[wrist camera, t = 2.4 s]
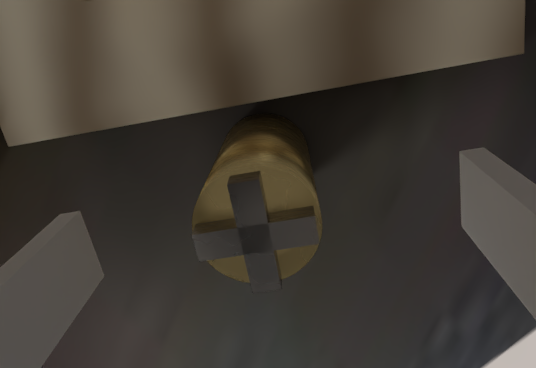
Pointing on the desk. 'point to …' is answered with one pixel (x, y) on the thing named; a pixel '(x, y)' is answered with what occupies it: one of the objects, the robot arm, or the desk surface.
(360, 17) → the shaft rig
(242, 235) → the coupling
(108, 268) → the desk surface
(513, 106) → the desk surface
